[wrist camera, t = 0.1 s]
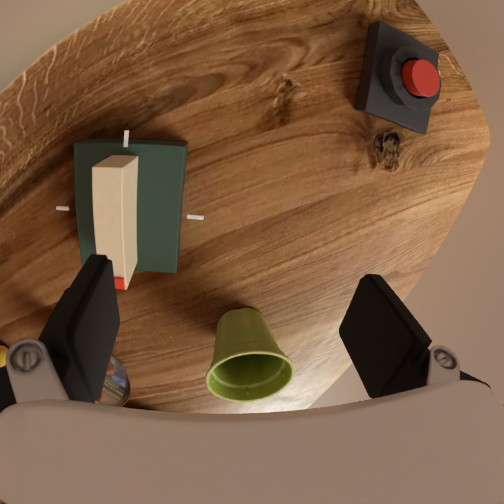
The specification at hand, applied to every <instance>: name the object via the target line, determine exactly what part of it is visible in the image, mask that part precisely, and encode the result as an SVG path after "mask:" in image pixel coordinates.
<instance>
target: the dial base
mask: <svg viewBox="0 0 504 504" xmlns="http://www.w3.org/2000/svg"><path fill="white" fill-rule="evenodd" d="M128 137H129V130H125V131H124V139H86V140H83V141H80V142H77V143H75V144H74V187H75V206H76V219H77V230H78V239H79V247H80V254H81V261H82V265H84V264H85V262H86V260H87V259H88V257H89V256H90V255H91V254H97V253H96V243H95V232H94V218H93V197H92V167H93V166H95V165H96V164H98V163H100V162H101V161H103V160H105V159H106V158H108V157H110V156H112V155H128V156H138V175H137V264H136V267H135V269H134V270H143V271H154V272H166V273H176V272H177V266H178V260H179V246H180V228H181V213H182V200H183V188H184V178H185V168H186V158H187V149H188V142H181V141H166V140H147V139H128ZM56 208H57V210H66V211H69V206H56ZM187 219H199V220H203V215H192V214H187Z"/></svg>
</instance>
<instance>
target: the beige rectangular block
mask: <svg viewBox="0 0 504 504" xmlns="http://www.w3.org/2000/svg"><path fill="white" fill-rule="evenodd" d="M137 175H138V156H128V155H112V156H110V157H108V158H106V159H105V160H103V161H101V162H100V163H98V164H96V165H95V166H93V167H92V197H93V218H94V232H95V243H96V253H97V254H101V255H106V256H107V257H108V259H110V260H112V263H113V272H114V281H115V289H127V288H128V285H129V282H130V280H131V277H132V274H133V272H134V269H135V267H136V264H137Z"/></svg>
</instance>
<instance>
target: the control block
mask: <svg viewBox="0 0 504 504" xmlns="http://www.w3.org/2000/svg"><path fill="white" fill-rule="evenodd" d="M438 56H439V54H438V53H437V52H435V51H434V50H432V49H430V48H429V47H427V46H426V45H424V44H422V43H421V42H419V41H417V40H415V39H414V38H412V37H410V36H408V35H407V34H405V33H403V32H401V31H399V30H397V29H395V28H393V27H391V26H389V25H387V24H385V23H383V22H381V21H378V22H375V23H373V24H370V25H369V28H368V35H367V42H366V49H365V55H364V62H363V68H362V73H361V79H360V85H359V90H358V95H357V100H356V105H355V110H358V111H361V112H364V113H367V114H370V115H373V116H375V117H378V118H381V119H384V120H386V121H389V122H391V123H394V124H397V125H399V126H402V127H404V128H406V129H409V130H411V131H414V132H417V133H421V134H426V131H427V126H428V121H429V116H430V111H431V108H432V106H433V105H434V104H435V103H436V101H437V100H438V99H439V95H440V88H441V80H440V86H439V90H438V92H437V93H436V94H435V95H434V96H431V97H426V96H416V95H413V94H411V93H410V92H409V91H408V90H407V89H406V88H405V86H404V84H403V82H402V78H401V69H402V66H403V65H404V63H406V62H407V61H410V60H426V61H428V62H430V63H431V64H432V65H433V66H434V67H435V69H436V70H437V72H438V68H437V65H438ZM438 75H439V72H438ZM439 79H440V76H439Z"/></svg>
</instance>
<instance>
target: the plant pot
mask: <svg viewBox="0 0 504 504" xmlns="http://www.w3.org/2000/svg"><path fill="white" fill-rule="evenodd" d="M294 373H295V368H294V365H293V363H292V361H291V360H290V359H289V358H288V357H287V356H285V355H284V353H283V352H282V351H281V350H280V349H279V347H278V345H277V343H276V341H275V339H274V337H273V335H272V333H271V331H270V328H269V326H268V324H267V322H266V320H265V318H264V316H263V315H262V314H261V313H260V312H259V311H257V310H255V309H252V308H242V309H232V310H230V311H228V312H226V313H225V314H223V315H222V316H221V317H220V319H219V321H218V323H217V330H216V339H215V348H214V356H213V361H212V363H211V366H210V368H209V370H208V372H207V374H206V386H207V388H208V389H209V390H210V391H211V392H212V393H213V394H214V395H216V396H217V397H220V398H222V399H225V400H229V401H236V402H250V401H257V400H261V399H265V398H268V397H270V396H273V395H275V394H277V393H278V392H280V391H282V390H283V389H284V388H286V387H287V386H288V385H289V384H290V382H291V381H292V379H293V377H294Z"/></svg>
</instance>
